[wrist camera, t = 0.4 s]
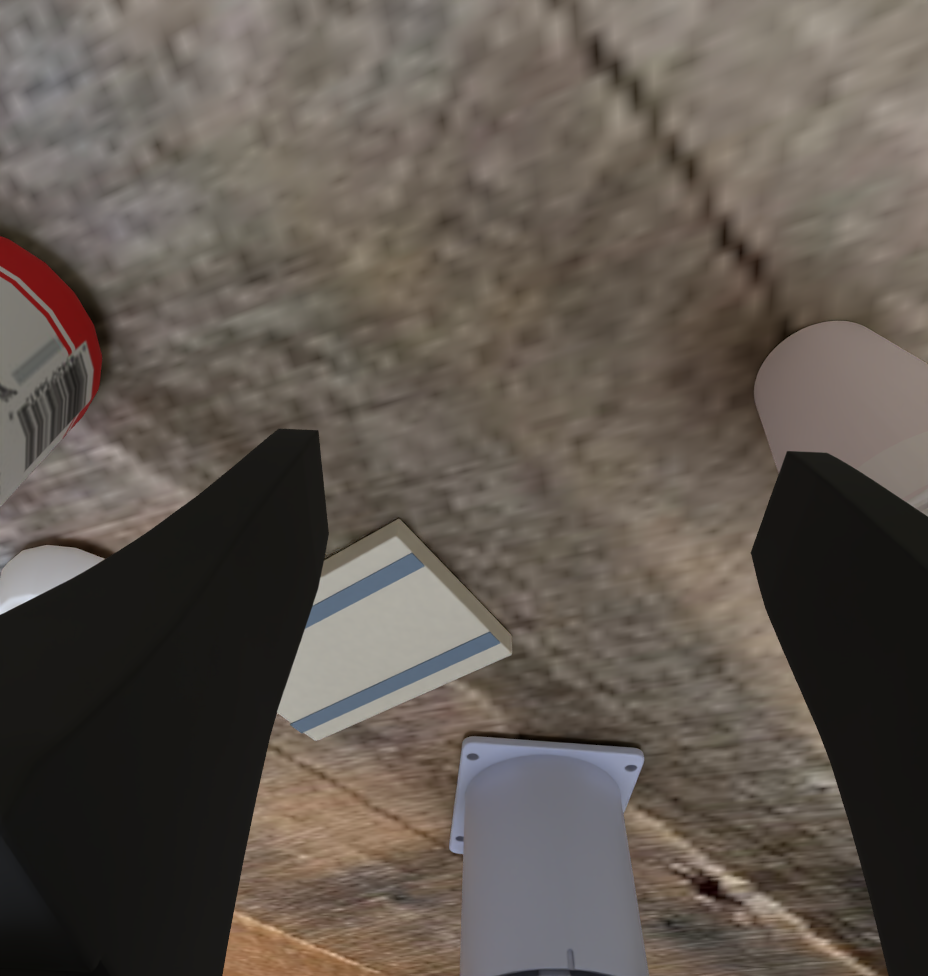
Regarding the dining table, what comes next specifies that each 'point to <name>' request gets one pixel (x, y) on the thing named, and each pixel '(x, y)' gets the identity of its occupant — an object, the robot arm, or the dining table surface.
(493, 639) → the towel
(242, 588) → the robot arm
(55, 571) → the lidless jar
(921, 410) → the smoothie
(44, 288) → the beer can
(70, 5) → the dining table surface
